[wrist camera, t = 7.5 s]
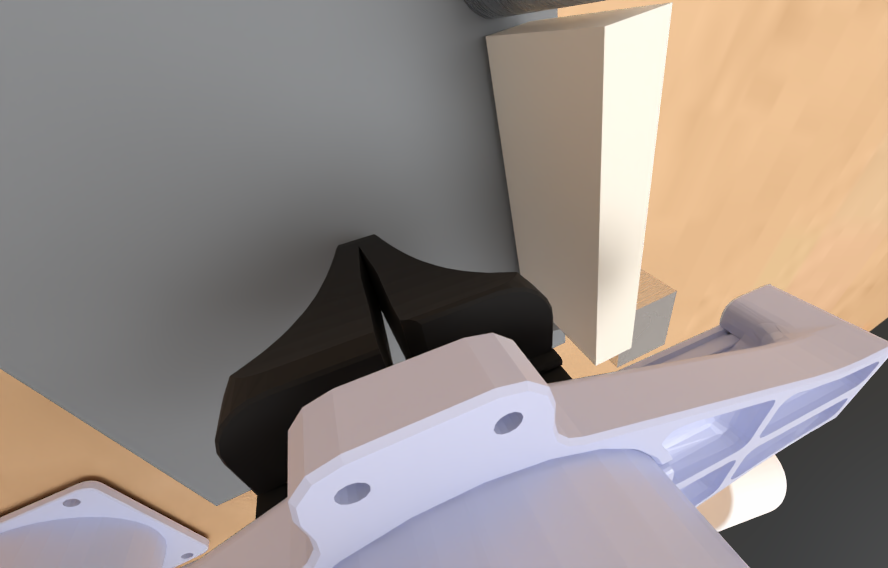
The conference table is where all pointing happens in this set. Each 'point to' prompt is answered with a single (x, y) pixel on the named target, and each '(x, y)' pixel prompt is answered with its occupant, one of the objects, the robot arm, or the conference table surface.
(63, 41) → the mat
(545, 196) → the block
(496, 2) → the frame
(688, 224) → the conference table surface
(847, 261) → the conference table surface
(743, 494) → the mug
